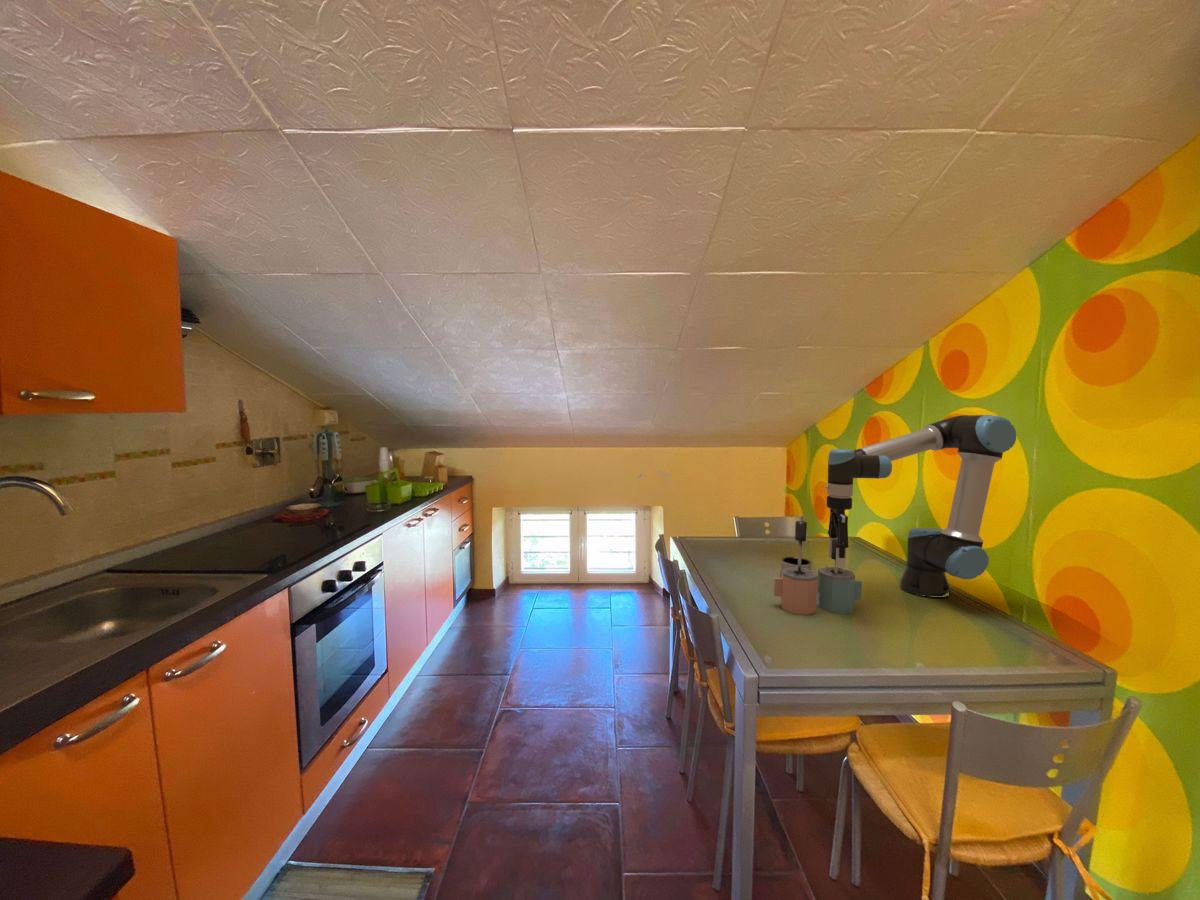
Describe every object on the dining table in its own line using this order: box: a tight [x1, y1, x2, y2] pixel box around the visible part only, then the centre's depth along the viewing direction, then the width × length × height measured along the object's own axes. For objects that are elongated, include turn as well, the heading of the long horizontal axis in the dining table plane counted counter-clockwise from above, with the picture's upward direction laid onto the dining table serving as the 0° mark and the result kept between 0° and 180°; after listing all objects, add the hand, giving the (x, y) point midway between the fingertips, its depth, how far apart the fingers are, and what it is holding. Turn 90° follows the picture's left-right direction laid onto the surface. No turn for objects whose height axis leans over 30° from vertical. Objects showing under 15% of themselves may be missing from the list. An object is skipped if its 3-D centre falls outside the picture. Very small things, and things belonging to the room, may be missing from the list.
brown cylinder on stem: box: [794, 520, 808, 575], centre depth 157 cm, size 8×8×20 cm
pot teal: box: [816, 566, 863, 615], centre depth 158 cm, size 13×10×12 cm
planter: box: [779, 556, 813, 578], centre depth 179 cm, size 11×11×10 cm
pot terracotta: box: [773, 567, 818, 616], centre depth 158 cm, size 13×10×12 cm
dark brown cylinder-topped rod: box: [830, 540, 844, 574], centre depth 158 cm, size 8×8×20 cm
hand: (836, 562), depth 158 cm, fingers open, 10 cm apart
